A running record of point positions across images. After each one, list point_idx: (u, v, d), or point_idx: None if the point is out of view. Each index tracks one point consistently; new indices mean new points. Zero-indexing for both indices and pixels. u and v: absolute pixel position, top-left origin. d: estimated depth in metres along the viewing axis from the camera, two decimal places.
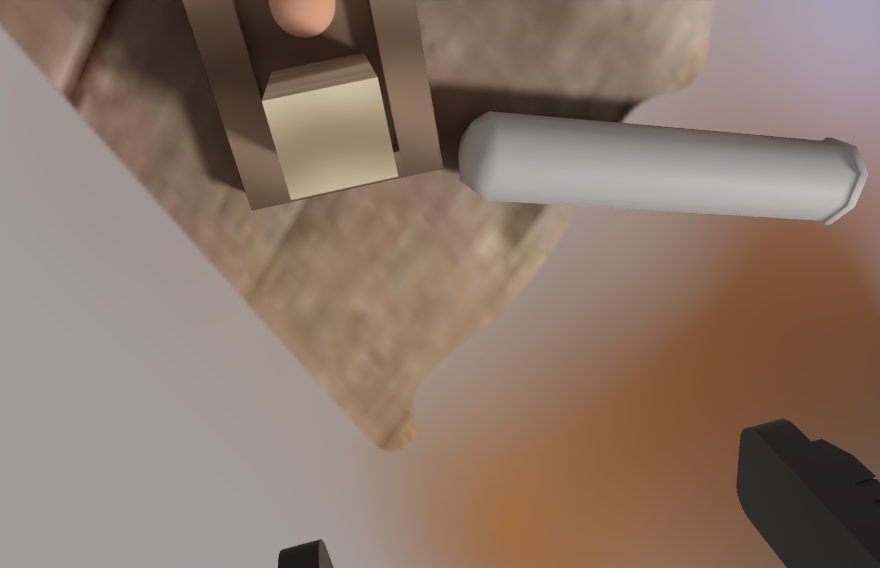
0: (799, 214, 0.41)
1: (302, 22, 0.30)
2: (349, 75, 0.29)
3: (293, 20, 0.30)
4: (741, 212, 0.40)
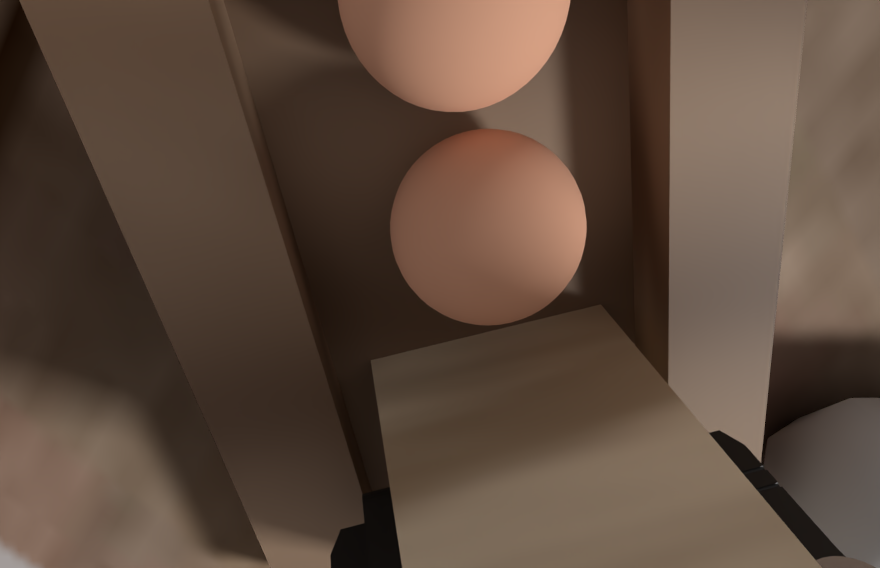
0: None
1: (506, 309, 0.10)
2: (707, 551, 0.08)
3: (477, 306, 0.10)
4: None
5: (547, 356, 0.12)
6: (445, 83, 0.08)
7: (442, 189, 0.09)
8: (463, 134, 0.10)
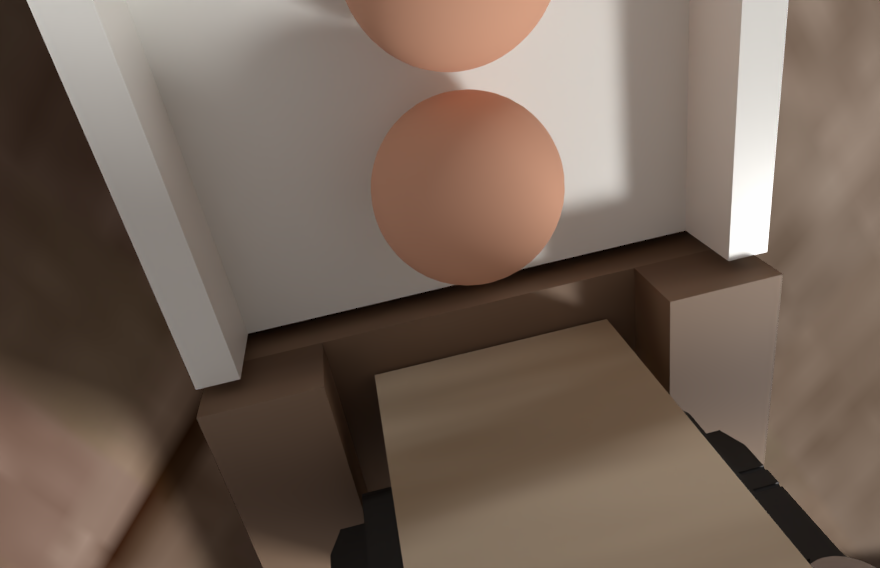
0: None
1: None
2: None
3: None
4: None
5: (553, 372, 0.12)
6: (440, 68, 0.09)
7: (432, 229, 0.09)
8: (459, 148, 0.09)
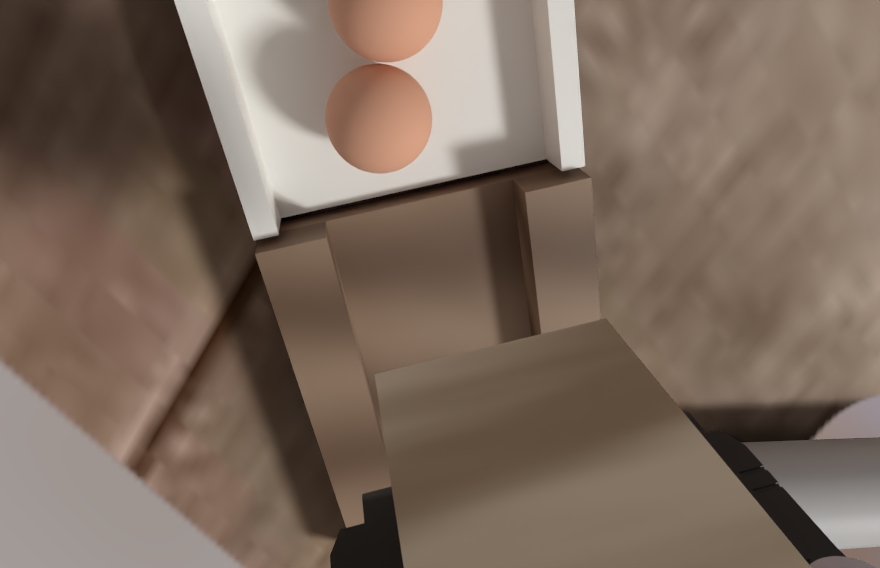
0: None
1: (380, 173, 0.20)
2: None
3: None
4: None
5: (552, 371, 0.12)
6: (381, 60, 0.18)
7: (334, 126, 0.18)
8: (349, 85, 0.18)
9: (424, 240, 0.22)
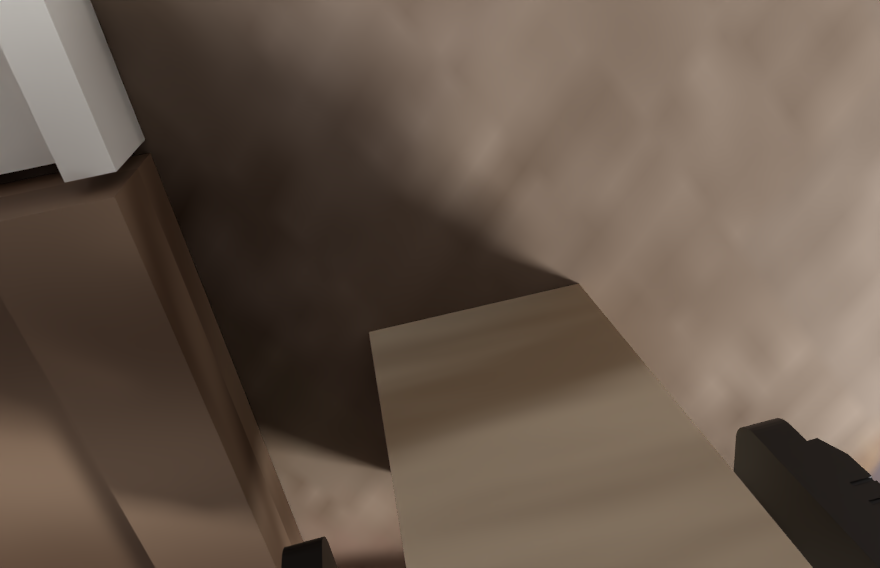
0: None
1: None
2: (657, 483, 0.10)
3: None
4: None
5: (528, 327, 0.14)
6: None
7: None
8: None
9: None
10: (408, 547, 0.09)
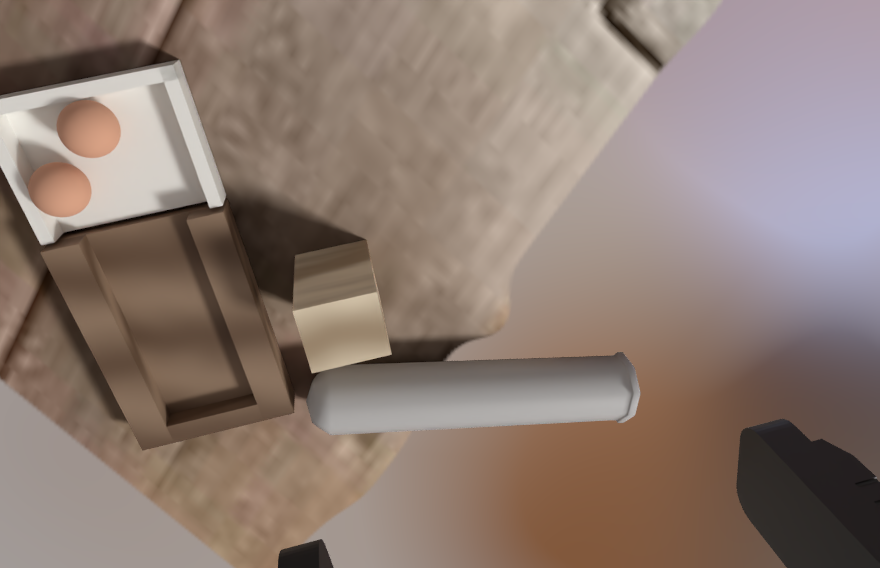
0: (594, 419, 0.51)
1: None
2: (356, 281, 0.39)
3: None
4: (544, 422, 0.50)
5: (344, 252, 0.43)
6: (88, 157, 0.37)
7: None
8: None
9: (145, 244, 0.41)
10: (294, 295, 0.39)
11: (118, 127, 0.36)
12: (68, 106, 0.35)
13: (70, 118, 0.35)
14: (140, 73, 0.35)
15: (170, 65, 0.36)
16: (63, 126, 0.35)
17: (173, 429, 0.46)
